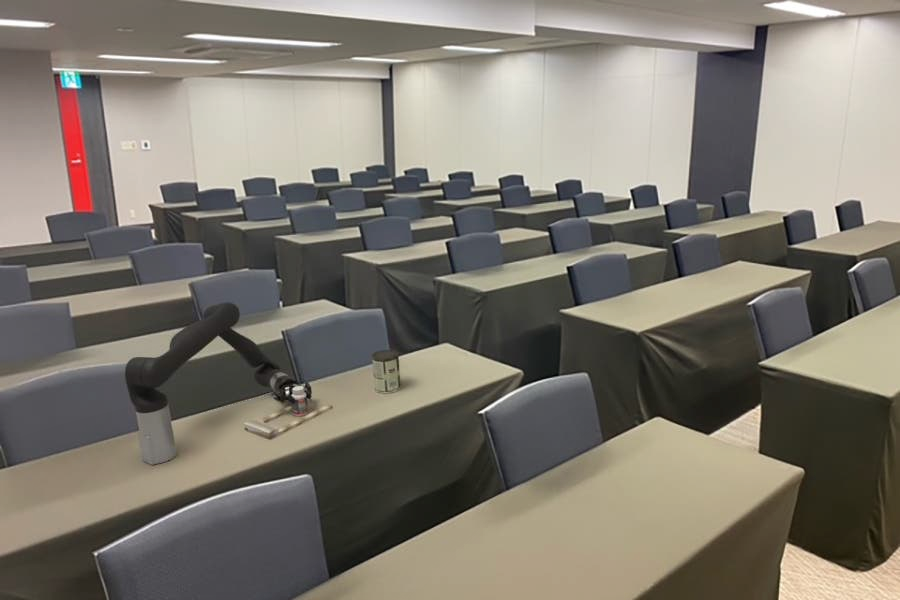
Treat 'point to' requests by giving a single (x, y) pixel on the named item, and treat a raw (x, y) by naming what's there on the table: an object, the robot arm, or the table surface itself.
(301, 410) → the pill bottle
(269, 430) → the keeper track
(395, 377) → the coffee can
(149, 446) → the robot arm
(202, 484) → the table surface
